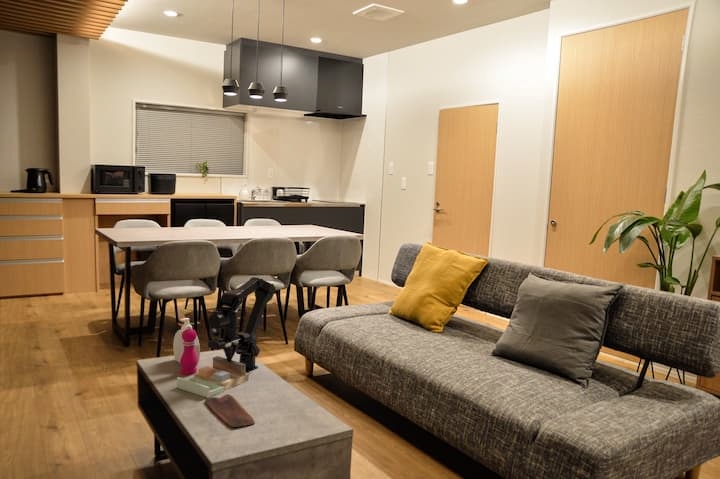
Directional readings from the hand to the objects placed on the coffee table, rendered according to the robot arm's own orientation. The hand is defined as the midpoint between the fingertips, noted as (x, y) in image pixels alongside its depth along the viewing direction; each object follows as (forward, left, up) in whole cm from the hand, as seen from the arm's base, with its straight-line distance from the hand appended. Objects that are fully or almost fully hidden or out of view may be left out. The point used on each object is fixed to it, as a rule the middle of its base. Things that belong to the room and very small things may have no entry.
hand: (229, 361), depth 223 cm
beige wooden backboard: (+4, 0, -7) cm, 8 cm away
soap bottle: (-2, -28, -8) cm, 29 cm away
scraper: (0, 0, -4) cm, 4 cm away
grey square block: (+8, +4, -4) cm, 10 cm away
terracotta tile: (+8, -4, -4) cm, 10 cm away
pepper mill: (+5, -18, -8) cm, 20 cm away
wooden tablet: (+18, +26, -7) cm, 33 cm away
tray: (+15, 0, -7) cm, 17 cm away
